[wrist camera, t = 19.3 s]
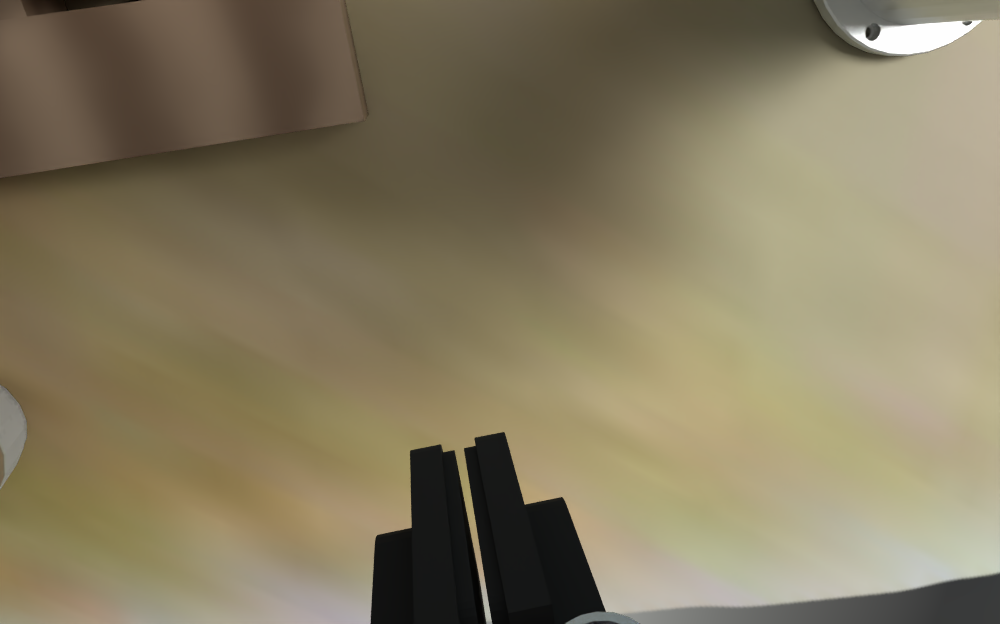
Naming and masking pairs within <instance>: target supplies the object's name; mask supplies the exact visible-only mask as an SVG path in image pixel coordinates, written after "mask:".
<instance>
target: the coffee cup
mask: <svg viewBox="0 0 1000 624" xmlns="http://www.w3.org/2000/svg"><path fill="white" fill-rule="evenodd" d="M26 439H27V421H26V418H25V416H24V413H23V411H22V409H21V406H20V404H19V403H18V402H17V401H16V399H15V398H14V397H13V396H12V395H11V394H10V393H9V391H8V390H7V389H6V388H4V387H3V386H1V385H0V489H1V488H2V486H3V484H4V483H5V481H6V480H7V478H8V477H9V475H10V474H11V472H12V471H13V469H14V468H15V466H16V465H17V463H18V461H19V458H20V456H21V453H22V451H23V448H24V444H25V441H26Z"/></svg>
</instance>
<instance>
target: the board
mask: <svg viewBox="0 0 1000 624" xmlns="http://www.w3.org/2000/svg"><path fill="white" fill-rule="evenodd" d="M367 116H368V110H367V105H366V100H365V95H364V90H363V85H362V81H361V76H360V71H359V66H358V61H357V56H356V51H355V47H354V42H353V37H352V32H351V27H350V22H349V17H348V13H347V8H346V3H345V0H142V1H135V2H128V3H121V4H113V5H106V6H99V7H92V8H85V9H78V10H70V11H67V9H66V6H65V3H64V0H0V178H4V177H10V176H17V175H23V174H29V173H36V172H42V171H48V170H55V169H61V168H68V167H74V166H80V165H87V164H93V163H99V162H106V161H112V160H118V159H125V158H131V157H138V156H144V155H150V154H157V153H163V152H169V151H176V150H182V149H189V148H195V147H201V146H208V145H214V144H220V143H227V142H233V141H239V140H246V139H252V138H259V137H265V136H271V135H278V134H284V133H290V132H297V131H303V130H309V129H316V128H322V127H329V126H335V125H341V124H348V123H354V122H360V121H365V119H366V117H367Z"/></svg>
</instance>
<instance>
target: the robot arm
mask: <svg viewBox="0 0 1000 624" xmlns="http://www.w3.org/2000/svg"><path fill="white" fill-rule="evenodd" d="M814 2H815V4H816V6H817V8H818V10H819V12H820V14H821V16H822V18H823V19H824V20H825V21H826V23H827V24H828V25H829V26H830V28H831V29H832V30H833V31H834V32H835V33H836V34H837V35H838V36H839V37H841V38H842V39H843V40H845V41H846V42H847V43H849V44H850V45H852V46H854V47H856V48H858V49H861V50H863V51H865V52H868V53H873V54H878V55H884V56H910V55H916V54H922V53H928V52H930V51H933V50H936V49H938V48H941V47H944V46H946V45H948V44H950V43H952V42H954V41H955V40H957V39H959V38H960V37H962V36H964V35H965V34H967V33H968V32H969V31H971V30H972V29H973V28H974V27H975V26H977V25H978V24H979V23H980V22H982V21H983V20H998V19H1000V0H814ZM865 32H866V33H865ZM475 444H476V446H473V447H468V448H464V452H465V458H466V464H467V470H468V477H469V483H470V489H471V495H472V502H473V508H474V514H475V520H476V527H477V533H478V539H479V545H480V551H481V558H482V564H483V570H484V576H485V583H486V589H487V595H488V601H489V607H490V613H491V619H492V624H640V623H638V622H636V621H635V620H633V619H632V618H630V617H627V616H624V615H621V614H617V613H614V612H606V611H605V608H604V606H603V603H602V600H601V597H600V595H599V592H598V589H597V587H596V584H595V581H594V578H593V576H592V573H591V570H590V568H589V565H588V562H587V559H586V557H585V554H584V551H583V549H582V546H581V543H580V540H579V538H578V535H577V532H576V530H575V527H574V524H573V521H572V519H571V516H570V513H569V511H568V508H567V505H566V503H565V501H564V499H563V498H562V497H560V498H555V499H550V500H546V501H541V502H536V503H531V504H526V505H524V501H523V497H522V494H521V490H520V486H519V483H518V479H517V476H516V472H515V468H514V465H513V461H512V457H511V454H510V450H509V447H508V443H507V439H506V436H505V433H504V432H502V433H497V434H491V435H486V436H481V437H476V438H475ZM410 469H411V514H412V528H409V529H404V530H400V531H395V532H390V533H385V534H380V535H377V537H376V540H375V552H374V571H373V589H372V607H371V624H486V619H485V612H484V605H483V599H482V592H481V586H480V580H479V574H478V569H477V563H476V558H475V553H474V548H473V543H472V538H471V533H470V527H469V522H468V517H467V512H466V507H465V502H464V497H463V491H462V486H461V481H460V476H459V471H458V466H457V461H456V456H455V451H454V450H453V451H448V452H443V450H442V446H441V445H435V446H430V447H425V448H420V449H415V450H411V451H410Z"/></svg>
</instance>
